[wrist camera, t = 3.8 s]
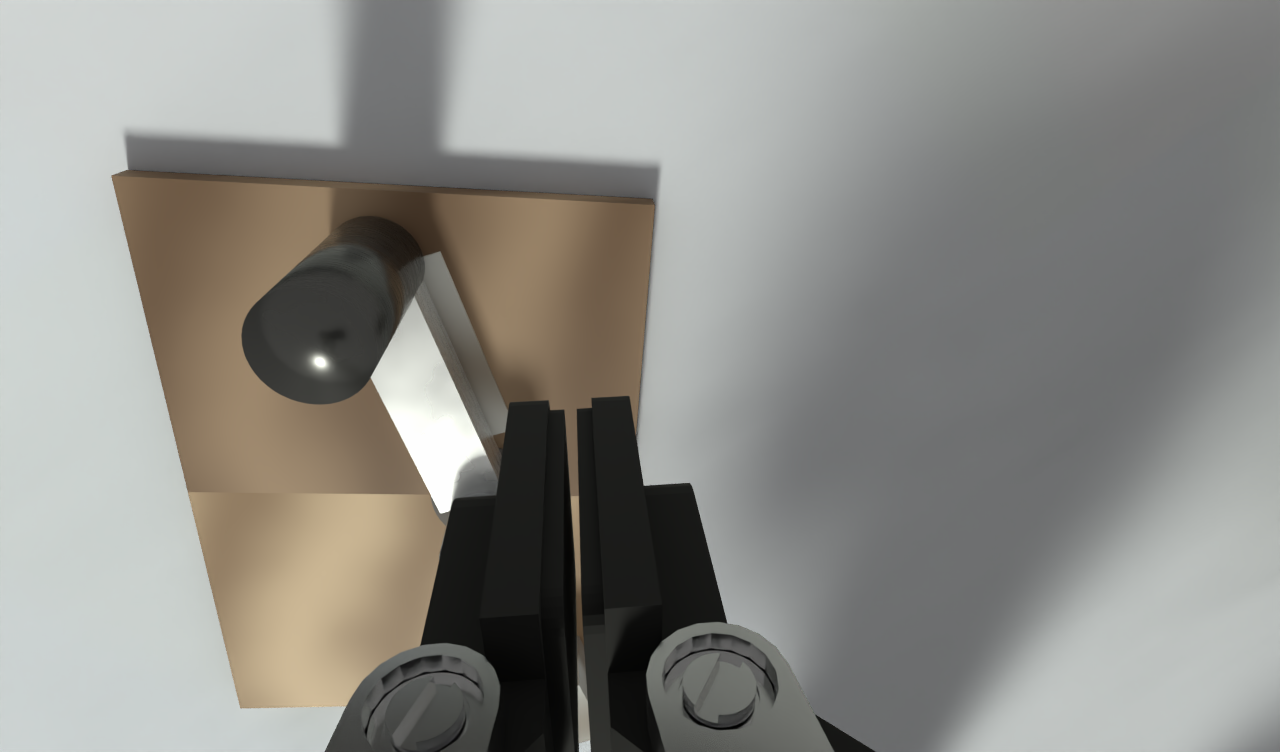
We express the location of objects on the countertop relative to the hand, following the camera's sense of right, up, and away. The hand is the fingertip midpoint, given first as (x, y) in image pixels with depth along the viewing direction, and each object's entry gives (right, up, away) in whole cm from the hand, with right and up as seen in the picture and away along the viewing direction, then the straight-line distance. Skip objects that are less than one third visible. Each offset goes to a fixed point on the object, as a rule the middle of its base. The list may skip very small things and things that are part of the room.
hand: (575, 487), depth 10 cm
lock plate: (-7, -2, +16) cm, 17 cm away
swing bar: (-6, +1, +13) cm, 14 cm away
